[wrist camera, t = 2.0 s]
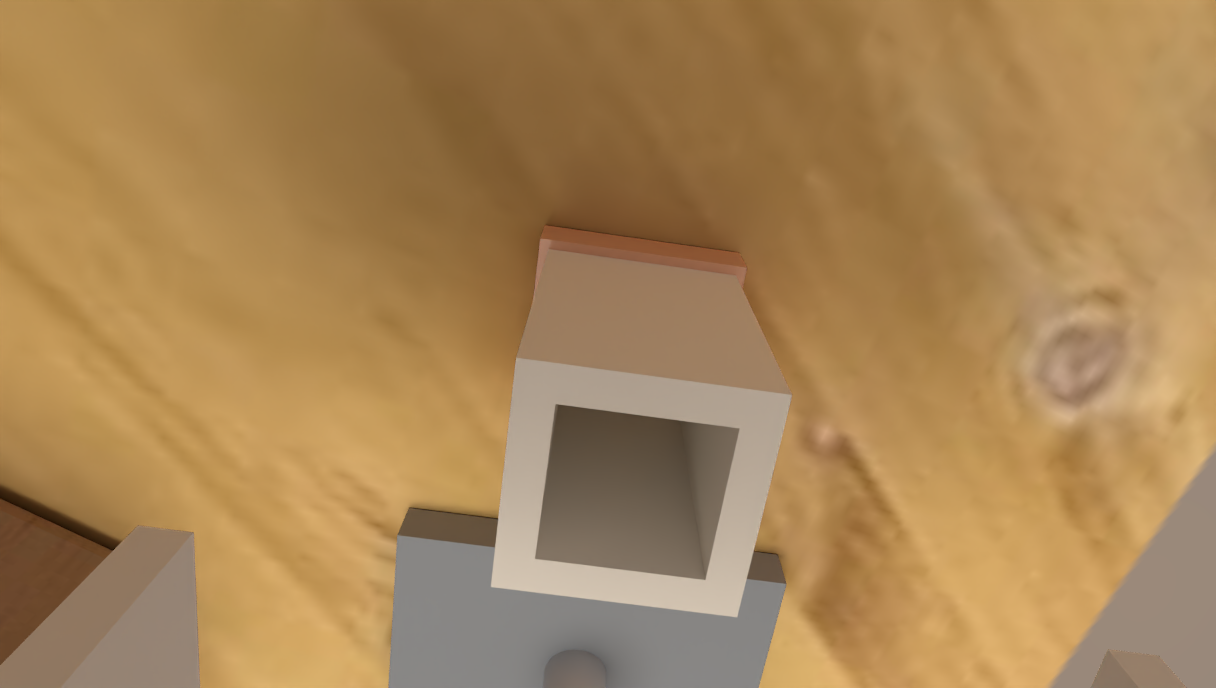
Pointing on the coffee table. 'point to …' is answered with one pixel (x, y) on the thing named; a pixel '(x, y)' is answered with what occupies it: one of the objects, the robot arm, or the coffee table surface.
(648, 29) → the coffee table surface
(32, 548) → the wooden block
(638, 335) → the sleeve
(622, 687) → the pin board
